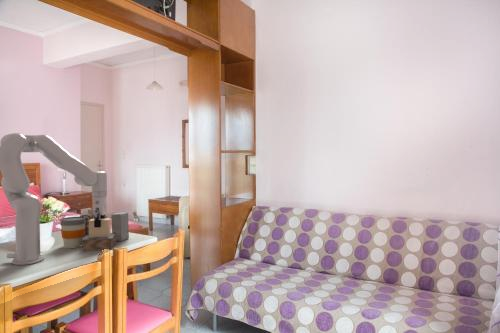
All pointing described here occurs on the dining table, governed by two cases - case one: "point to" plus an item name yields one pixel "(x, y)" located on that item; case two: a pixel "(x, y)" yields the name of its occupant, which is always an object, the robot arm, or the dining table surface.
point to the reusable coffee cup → (73, 231)
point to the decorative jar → (88, 216)
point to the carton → (100, 228)
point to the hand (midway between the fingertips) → (99, 225)
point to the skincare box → (120, 226)
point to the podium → (99, 242)
